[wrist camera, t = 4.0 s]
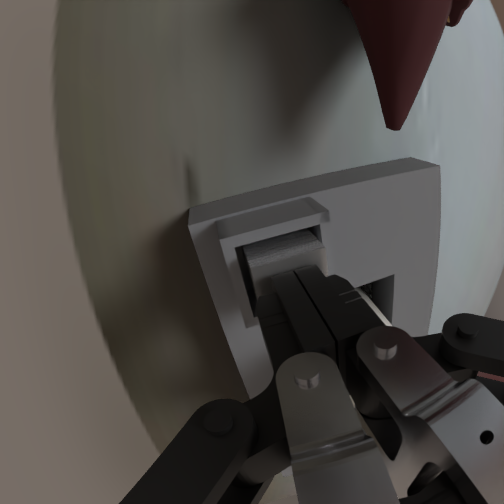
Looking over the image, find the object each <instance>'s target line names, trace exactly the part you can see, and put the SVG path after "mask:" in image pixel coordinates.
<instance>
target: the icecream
mask: <svg viewBox="0 0 504 504" xmlns="http://www.w3.org/2000/svg"><path fill="white" fill-rule="evenodd" d="M340 1H341V2H342V3H343V4H344V5H345V6H347V7H349V8H350V10H351V13H352V15H353V18H354V20H355V23H356V26H357V28H358V31H359V34H360V36H361V39H362V42H363V45H364V48H365V51H366V54H367V57H368V60H369V63H370V66H371V70H372V73H373V76H374V80H375V84H376V88H377V92H378V96H379V100H380V104H381V108H382V113H383V116H384V120H385V124H386V128H389V129H391V130H393V131H395V130H400V129H401V127H402V125H403V123H404V121H405V120H406V118H407V116H408V113H409V111H410V109H411V107H412V105H413V103H414V100H415V98H416V96H417V94H418V91H419V89H420V87H421V84H422V82H423V80H424V78H425V75H426V73H427V70H428V68H429V66H430V63H431V61H432V58H433V56H434V53H435V51H436V48H437V46H438V43H439V41H440V38H441V36H442V33H443V30H444V28H445V25H446V26H450V27H453V26H456V25H457V24H458V23H459V21H460V19H461V17H462V15H463V13H464V11H465V10H466V9H467V8H468V7H469V6H470V5H471V3H472V1H473V0H340Z"/></svg>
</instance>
